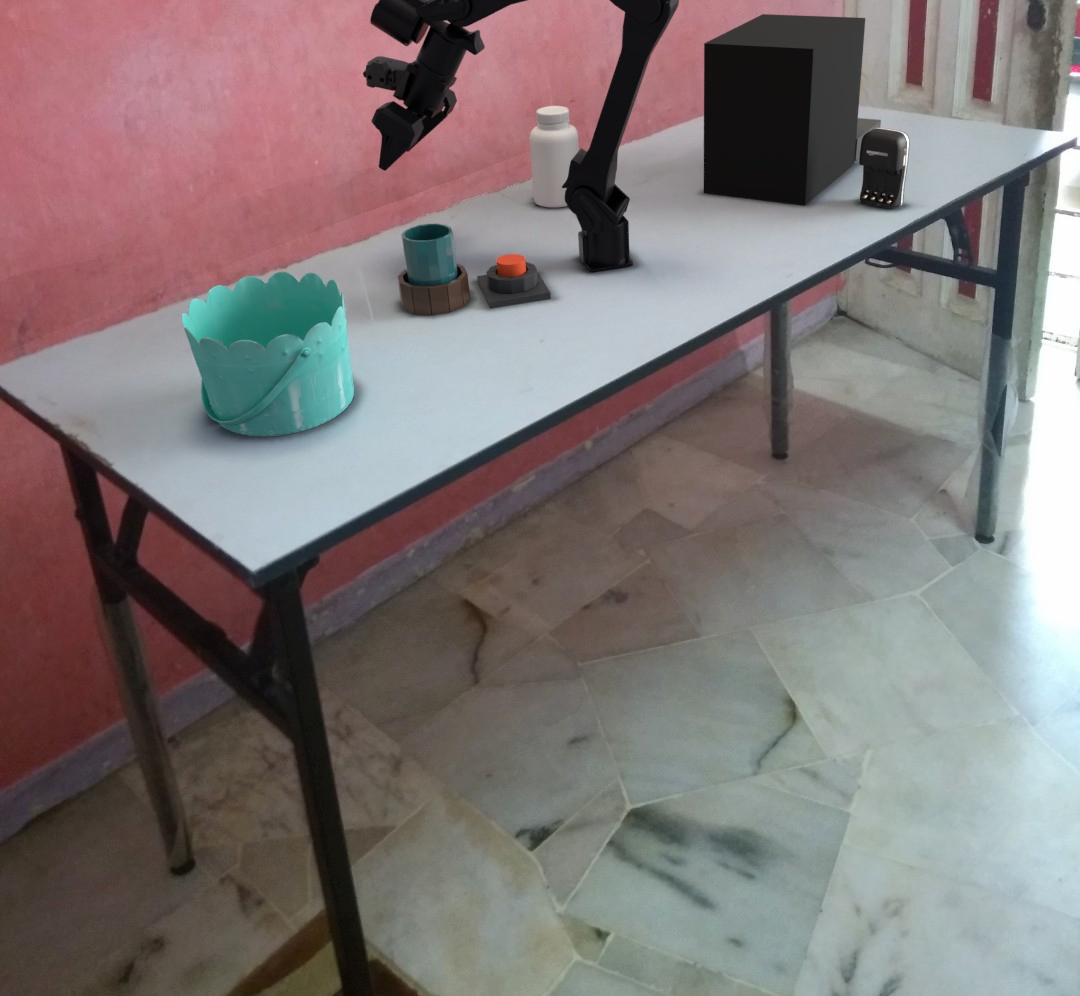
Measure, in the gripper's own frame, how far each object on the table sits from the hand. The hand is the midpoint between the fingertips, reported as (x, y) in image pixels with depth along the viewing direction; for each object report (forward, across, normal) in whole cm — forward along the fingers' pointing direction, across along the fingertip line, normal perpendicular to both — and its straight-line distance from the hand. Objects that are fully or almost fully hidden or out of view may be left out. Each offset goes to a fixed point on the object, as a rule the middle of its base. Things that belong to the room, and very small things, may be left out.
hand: (393, 159), depth 167 cm
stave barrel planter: (+7, +16, +17) cm, 24 cm away
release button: (-1, +12, +24) cm, 26 cm away
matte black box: (-17, -46, +54) cm, 73 cm away
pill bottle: (+4, -26, +22) cm, 35 cm away
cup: (+7, +16, +17) cm, 24 cm away
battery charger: (-24, -27, +66) cm, 76 cm away
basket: (+12, +47, +10) cm, 50 cm away
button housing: (+2, +12, +25) cm, 28 cm away
